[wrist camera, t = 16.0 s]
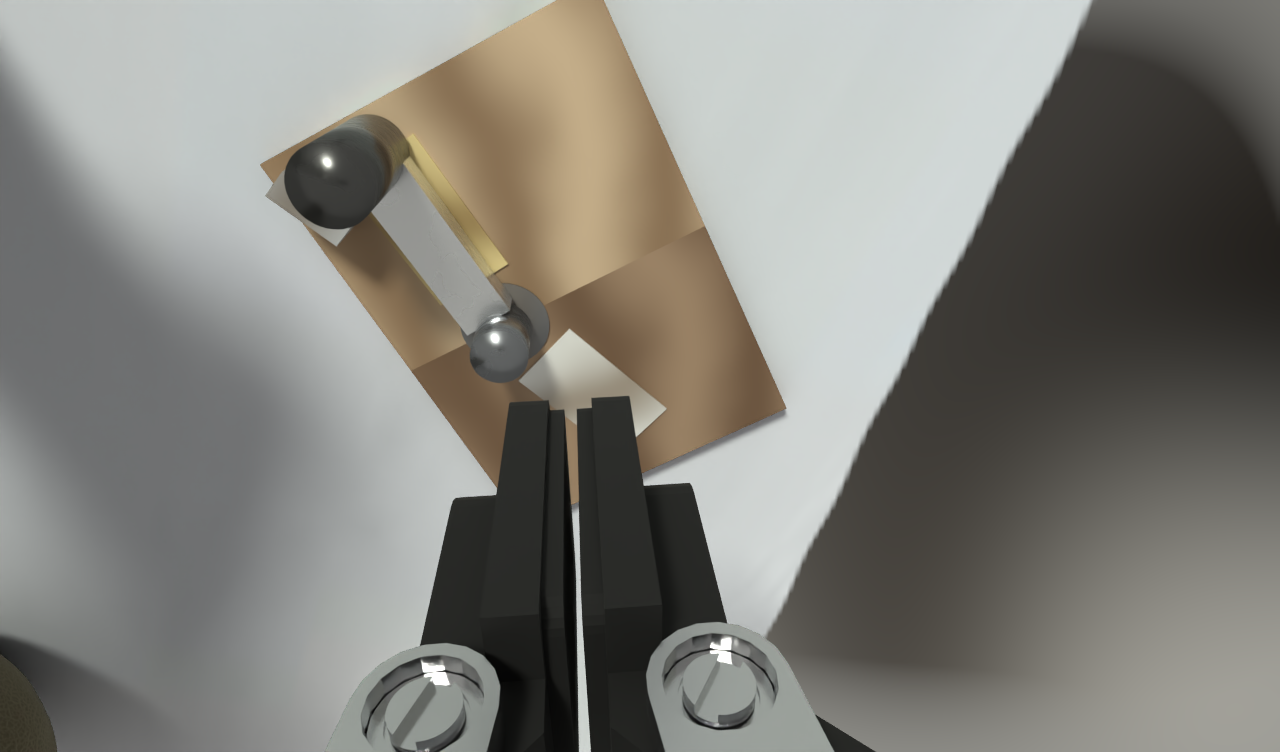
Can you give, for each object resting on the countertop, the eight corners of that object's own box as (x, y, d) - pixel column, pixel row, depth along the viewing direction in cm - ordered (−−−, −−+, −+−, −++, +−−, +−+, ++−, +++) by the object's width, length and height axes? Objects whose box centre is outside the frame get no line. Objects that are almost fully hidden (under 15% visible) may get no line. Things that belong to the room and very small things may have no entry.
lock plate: (525, 516, 39) (522, 556, 36) (266, 160, 30) (235, 178, 27) (782, 400, 37) (800, 433, 35) (593, -20, 28) (596, -22, 25)
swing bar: (545, 333, 33) (541, 398, 28) (494, 362, 34) (480, 432, 28) (378, 99, 28) (335, 125, 23) (320, 138, 28) (265, 171, 23)
